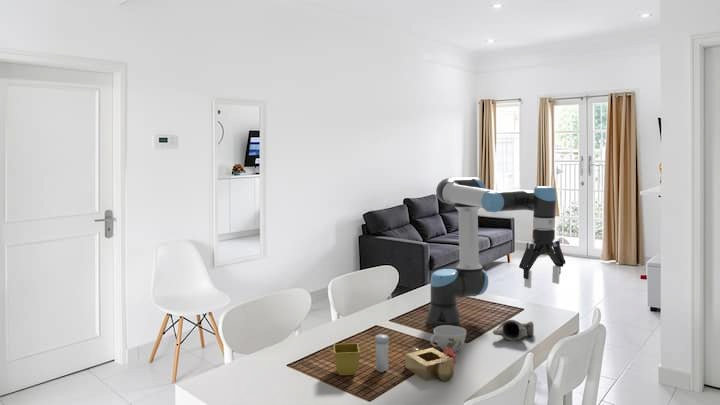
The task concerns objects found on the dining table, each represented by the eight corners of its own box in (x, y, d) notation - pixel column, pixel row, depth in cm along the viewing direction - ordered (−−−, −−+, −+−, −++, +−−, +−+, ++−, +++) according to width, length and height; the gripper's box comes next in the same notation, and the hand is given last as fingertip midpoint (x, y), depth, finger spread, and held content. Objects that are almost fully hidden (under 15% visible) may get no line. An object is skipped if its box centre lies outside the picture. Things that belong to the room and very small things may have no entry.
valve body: (399, 363, 187) (399, 347, 186) (433, 355, 194) (433, 339, 194) (433, 385, 170) (433, 367, 169) (468, 374, 177) (469, 358, 177)
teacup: (454, 341, 208) (454, 322, 207) (473, 352, 196) (473, 332, 196) (422, 347, 202) (422, 328, 201) (439, 359, 190) (439, 338, 190)
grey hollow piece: (505, 353, 216) (500, 346, 204) (494, 334, 221) (488, 326, 209) (540, 335, 214) (537, 326, 202) (528, 316, 219) (525, 307, 207)
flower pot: (333, 367, 184) (333, 343, 183) (358, 366, 184) (357, 342, 184) (334, 378, 175) (334, 353, 174) (360, 377, 176) (359, 352, 175)
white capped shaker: (372, 368, 183) (372, 335, 182) (384, 365, 185) (383, 333, 184) (379, 373, 179) (379, 340, 178) (391, 370, 181) (391, 337, 180)
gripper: (524, 232, 180) (522, 291, 183) (577, 227, 191) (574, 283, 193) (510, 229, 187) (508, 286, 189) (561, 224, 197) (559, 279, 200)
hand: (541, 285), depth 191 cm, fingers open, 13 cm apart
